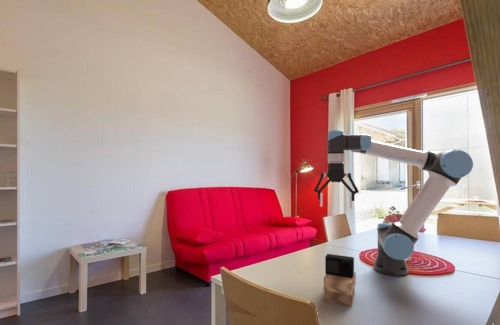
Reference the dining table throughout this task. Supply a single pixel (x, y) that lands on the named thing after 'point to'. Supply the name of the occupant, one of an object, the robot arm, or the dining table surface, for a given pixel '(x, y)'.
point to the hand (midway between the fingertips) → (335, 207)
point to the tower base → (339, 297)
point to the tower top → (339, 284)
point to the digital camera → (339, 265)
